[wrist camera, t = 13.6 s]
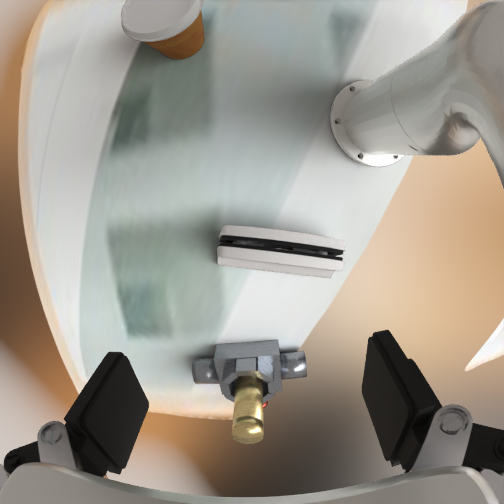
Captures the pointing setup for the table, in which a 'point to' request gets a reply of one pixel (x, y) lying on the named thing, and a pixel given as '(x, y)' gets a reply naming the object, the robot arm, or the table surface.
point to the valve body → (249, 367)
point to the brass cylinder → (248, 410)
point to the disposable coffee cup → (165, 25)
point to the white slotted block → (279, 251)
